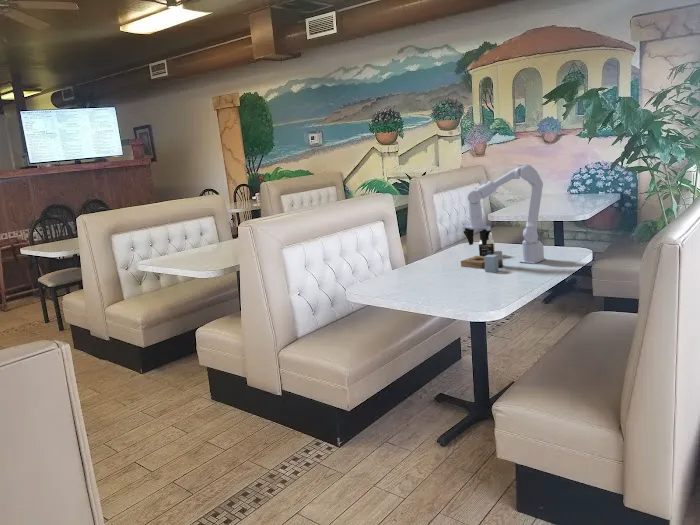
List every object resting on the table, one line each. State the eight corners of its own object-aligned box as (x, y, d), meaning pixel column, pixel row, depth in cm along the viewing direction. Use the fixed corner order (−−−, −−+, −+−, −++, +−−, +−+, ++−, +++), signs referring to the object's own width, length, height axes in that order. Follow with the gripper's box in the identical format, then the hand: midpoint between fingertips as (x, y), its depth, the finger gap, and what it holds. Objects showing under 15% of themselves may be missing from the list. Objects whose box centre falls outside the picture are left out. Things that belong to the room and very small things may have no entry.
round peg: (497, 265, 258) (496, 250, 257) (504, 266, 256) (503, 251, 254) (493, 267, 256) (492, 252, 255) (499, 267, 253) (498, 252, 252)
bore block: (476, 260, 273) (476, 255, 272) (497, 262, 263) (497, 257, 263) (461, 266, 265) (460, 261, 265) (481, 268, 256) (481, 263, 256)
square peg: (489, 269, 253) (487, 254, 251) (498, 270, 250) (497, 254, 249) (485, 272, 249) (484, 256, 248) (494, 272, 246) (493, 256, 245)
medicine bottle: (479, 257, 279) (477, 234, 276) (480, 254, 285) (478, 231, 283) (494, 257, 276) (492, 233, 274) (495, 254, 283) (493, 230, 281)
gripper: (457, 217, 263) (460, 245, 266) (483, 218, 252) (485, 247, 254) (467, 215, 267) (469, 243, 270) (492, 215, 256) (494, 244, 259)
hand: (477, 245), depth 262 cm, fingers open, 7 cm apart
